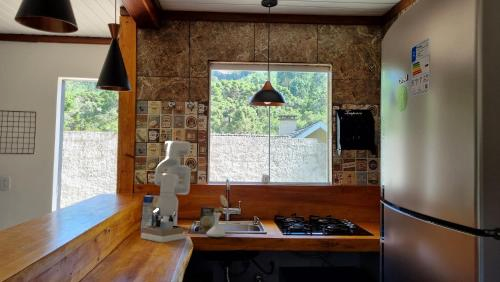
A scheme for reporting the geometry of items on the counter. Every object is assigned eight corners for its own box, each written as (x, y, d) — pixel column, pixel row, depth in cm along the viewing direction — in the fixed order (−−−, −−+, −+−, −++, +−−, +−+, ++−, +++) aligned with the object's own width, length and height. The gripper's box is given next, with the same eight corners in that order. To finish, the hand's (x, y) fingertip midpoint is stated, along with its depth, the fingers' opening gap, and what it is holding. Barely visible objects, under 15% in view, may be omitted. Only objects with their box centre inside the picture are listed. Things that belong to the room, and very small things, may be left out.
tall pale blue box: (155, 231, 194) (156, 221, 195) (162, 230, 199) (163, 220, 199) (165, 233, 190) (166, 222, 191) (172, 232, 194) (173, 221, 195)
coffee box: (198, 232, 218) (200, 207, 220) (200, 231, 224) (202, 206, 226) (212, 234, 217) (214, 208, 219) (214, 232, 223) (216, 207, 225)
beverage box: (140, 233, 204) (143, 196, 207) (150, 231, 215) (153, 195, 217) (150, 234, 202) (153, 196, 205) (160, 232, 213) (163, 196, 215)
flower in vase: (214, 239, 200) (217, 195, 203) (202, 236, 208) (205, 194, 210) (231, 237, 210) (233, 195, 212) (218, 234, 217) (220, 194, 220)
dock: (140, 238, 191) (141, 226, 191) (165, 234, 206) (165, 224, 206) (161, 242, 182) (162, 230, 183) (185, 238, 197) (185, 227, 198)
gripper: (173, 194, 206) (170, 224, 204) (150, 195, 191) (147, 226, 189) (182, 195, 202) (180, 225, 200) (159, 196, 187) (157, 228, 185)
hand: (164, 226), depth 195 cm, fingers open, 9 cm apart
